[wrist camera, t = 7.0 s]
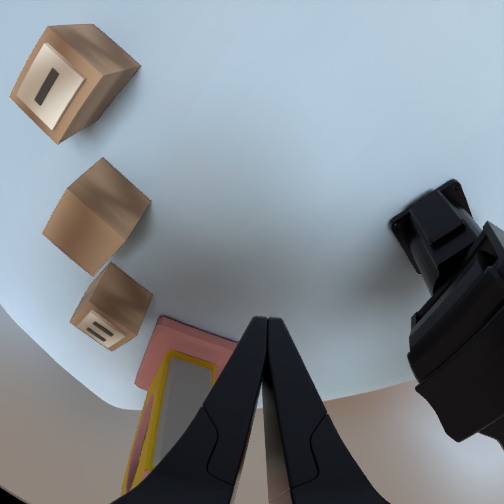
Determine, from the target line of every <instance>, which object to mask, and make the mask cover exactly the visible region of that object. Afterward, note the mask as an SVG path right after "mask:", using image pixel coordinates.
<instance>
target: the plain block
mask: <svg viewBox="0 0 504 504" xmlns="http://www.w3.org/2000/svg"><path fill="white" fill-rule="evenodd" d="M150 203H151V200H150V199H149V198H148V197H146V196H145V195H144V194H143V193H142V192H141V191H140V190H139V189H138V188H136V187H135V186H134V185H133V184H132V183H131V182H130V181H129V180H128V179H126V178H125V177H124V176H123V175H122V174H121V173H120V172H119V171H118V170H117V169H115V168H114V167H113V166H112V165H111V164H110V163H109V162H108V161H107V160H106V159H105V158H103V157H102V158H101V159H100V160H99V161H98V162H96V163H95V164H94V165H93V166H92V167H90V168H89V169H88V170H87V171H86V172H85V173H84V174H82V175H81V176H80V177H79V178H78V179H77V180H76V181H75V182H73V183H72V184H71V185H70V186H69V187H68V188H67V189H66V191H65V193H64V194H63V196H62V198H61V199H60V201H59V203H58V205H57V206H56V208H55V210H54V212H53V214H52V215H51V217H50V219H49V221H48V223H47V225H46V227H45V229H44V231H43V233H42V234H43V235H44V236H45V237H46V238H48V239H49V240H50V241H51V242H52V243H53V244H54V245H56V246H57V247H58V248H59V249H60V250H61V251H62V252H64V253H65V254H66V255H67V256H68V257H69V258H71V259H72V260H73V261H74V262H75V263H77V264H78V265H79V266H80V267H82V268H83V269H84V270H85V271H86V272H88V273H89V274H90V275H91V276H94V275H95V274H96V273H97V272H98V271H99V269H100V268H101V267H102V266H103V265H104V264H105V263H106V262H107V261H108V259H109V258H110V257H111V256H112V255H113V254H114V253H115V252H116V251H117V250H118V249H119V248H120V246H121V245H122V244H123V243H124V242H125V241H126V240H127V238H128V237H129V235H130V233H131V232H132V230H133V229H134V227H135V226H136V224H137V222H138V221H139V219H140V218H141V216H142V215H143V213H144V212H145V210H146V209H147V207H148V206H149V204H150Z"/></svg>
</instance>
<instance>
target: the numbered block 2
mask: <svg viewBox="0 0 504 504" xmlns="http://www.w3.org/2000/svg"><path fill="white" fill-rule="evenodd" d="M152 295H153V294H152V293H150V292H149V291H148V290H146V289H145V288H144V287H142V286H141V285H140V284H139V283H137V282H136V281H135V280H133V279H132V278H131V277H130V276H128V275H127V274H126V273H124V272H123V271H122V270H121V269H119V268H118V267H117V266H116V265H114V264H113V263H112V262H110V263H109V265H108V266H107V267H106V268H105V269H104V270H103V271H102V272H101V273H100V274H99V275H98V277H97V278H96V279H95V280H94V281H93V282H92V283H91V284H90V286H89V287H88V289H87V291H86V292H85V294H84V296H83V298H82V300H81V301H80V303H79V305H78V307H77V309H76V310H75V312H74V314H73V316H72V318H71V320H70V323H71V324H73V325H74V326H75V327H77V328H78V329H80V330H81V331H82V332H84V333H85V334H87V335H88V336H90V337H91V338H92V339H94V340H95V341H97V342H98V343H100V344H101V345H103V346H104V347H106V348H107V349H109V350H110V351H113V350H115V349H117V348H118V347H120V346H121V345H123V344H125V343H126V342H128V341H129V340H131V339H133V338H134V337H136V336H137V334H138V332H139V329H140V326H141V323H142V321H143V318H144V316H145V313H146V310H147V308H148V305H149V303H150V300H151V297H152Z"/></svg>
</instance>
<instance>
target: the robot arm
mask: <svg viewBox="0 0 504 504" xmlns="http://www.w3.org/2000/svg"><path fill="white" fill-rule="evenodd" d="M454 185H456V186H455V188H453V186H454ZM397 223H398V225H397V226H394V225H395V224H397ZM389 225H390V228H391V229H392V231H393V233H394V234H395V236H396V238H397V239H398V241H399V242H400V244H401V246H402V247H403V249H404V251H405V252H406V254H407V256H408V258H409V259H410V261H411V263H412V264H413V266H414V268H415V270H416V272H417V273H418V274H422V276H423V278H424V280H425V283H426V285H427V287H428V289H429V291H430V294H431V296H432V297H431V298H430V299H429V300H428V301H427V302H426V304H425V305H424V306H423V307H422V308H421V309H420V310H419V311H418V312H416V313H415V314H414V315H413V316H412V317H411V333H410V336H409V343H410V352H409V353H408V354H407V358H408V361H409V364H410V367H411V370H412V372H413V374H414V376H415V378H416V379H417V381H418V382H419V384H418V385H417V386H416V387H415V390H416V391H417V392H418V393H419V394H420V395H421V396H423V397H424V398H425V399H426V400H427V401H428V402H429V404H430V405H431V406H432V408H433V409H434V410H435V412H436V414H437V415H438V418H439V420H440V422H441V424H442V426H443V428H444V430H445V432H446V434H447V435H448V436H450V437H451V438H452V439H454V440H455V441H456V442H461V441H463V440H465V439H467V438H468V437H470V436H472V435H474V434H475V433H480V434H483V435H485V436H488V437H491V438H493V439H495V440H497V441H498V442H499V444H500V445H501V447H502V449H503V450H504V231H502V230H501V229H500V228H498V227H497V226H495V225H494V224H492V223H491V222H489V221H487V222H486V223H485V225H484V226H483V230H481V228H480V227H479V226H478V225H477V223H476V222H475V221H474V220H473V217H472V215H471V212H470V209H469V206H468V203H467V200H466V198H465V195H464V192H463V190H462V187H461V185H460V183H459V182H458V181H457V180H455V179H453V180H451V181H449V182H448V183H446V184H445V185H443V186H442V187H440V188H439V189H437V190H436V191H434V192H432V193H431V194H429V195H428V196H426V197H425V198H423V199H422V200H420V201H419V202H417V203H416V204H414V205H413V206H411V207H410V208H409V209H407V210H405V211H404V212H402V213H401V214H399V215H398V216H396V217H395V218H393V219H392V220H391V221H390V224H389ZM261 383H262V398H263V413H264V431H265V447H266V463H267V479H268V480H267V481H268V498H269V504H390V503H389V502H388V501H386V500H385V499H384V498H383V497H382V496H381V495H379V494H378V492H377V491H376V490H375V489H374V488H373V486H372V485H371V483H370V482H369V481H368V479H367V478H366V476H365V475H364V473H363V472H362V470H361V469H360V467H359V466H358V465H357V463H356V461H355V460H354V459H353V457H352V456H351V454H350V452H349V451H348V449H347V448H346V446H345V444H344V443H343V441H342V440H341V438H340V436H339V434H338V432H337V430H336V428H335V426H334V425H333V423H332V420H331V418H330V416H329V414H326V413H327V410H326V409H325V406H324V404H323V402H322V400H321V398H320V396H319V394H318V392H317V390H316V388H315V385H314V383H313V381H312V379H311V377H310V375H309V373H308V371H307V369H306V367H305V365H304V363H303V361H302V359H301V356H300V354H299V352H298V350H297V348H296V346H295V344H294V342H293V340H292V338H291V336H290V334H289V332H288V330H287V327H286V325H285V323H284V321H283V320H282V318H277V317H269V318H268V319H267V317H263V316H254V317H253V318H252V320H251V321H250V323H249V325H248V327H247V329H246V330H245V332H244V334H243V336H242V337H241V339H240V341H239V343H238V344H237V346H236V348H235V349H234V351H233V353H232V355H231V356H230V358H229V360H228V362H227V363H226V365H225V367H224V368H223V370H222V372H221V373H220V375H219V377H218V379H217V380H216V382H215V384H214V385H213V387H212V389H211V390H210V392H209V394H208V395H207V397H206V399H205V400H204V402H203V404H202V406H201V407H200V408H199V410H198V412H197V413H196V415H195V417H194V418H193V420H192V421H191V423H190V424H189V426H188V427H187V429H186V430H185V432H184V433H183V434H182V435H181V437H180V438H179V439H178V441H177V442H176V443H175V444H174V446H173V447H172V448H171V449H170V450H169V451H168V453H167V454H166V455H165V456H164V457H163V458H162V460H161V461H160V462H159V463H158V464H157V465H156V466H155V468H154V469H153V470H152V471H151V472H150V473H149V474H148V475H147V476H146V477H145V478H144V479H143V480H142V481H141V482H140V483H139V484H138V485H137V486H135V487H134V488H133V489H132V490H130V491H129V492H127V493H126V494H124V495H122V496H121V497H119V498H118V499H116V500H115V501H113V502H112V503H110V504H234V500H235V496H236V493H237V489H238V485H239V481H240V476H241V472H242V468H243V464H244V460H245V455H246V451H247V447H248V443H249V439H250V434H251V430H252V425H253V421H254V417H255V412H256V408H257V403H258V398H259V394H260V389H261ZM0 504H30V503H28V502H27V501H25V500H23V499H22V498H20V497H18V496H16V495H15V494H13V493H12V492H10V491H9V490H7V489H5V488H4V487H2V486H1V485H0Z"/></svg>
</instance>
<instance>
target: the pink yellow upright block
mask: <svg viewBox="0 0 504 504" xmlns="http://www.w3.org/2000/svg"><path fill="white" fill-rule="evenodd" d="M237 344H238V343H236V342H233V341H230V340H227V339H224V338H221V337H218V336H215V335H213V334H210V333H207V332H204V331H201V330H199V329H196V328H193V327H191V326H188V325H185V324H183V323H180V322H177V321H175V320H172V319H170V318H167V317H164V316H162V317H160V318H158V321H157V323H156V326H155V329H154V331H153V334H152V336H151V339H150V342H149V344H148V347H147V349H146V352H145V355H144V357H143V360H142V363H141V366H140V368H139V371H138V374H137V377H136V380H135V385H136V386H138V387H139V388H141V389H144V390H147V391H148V393H147V396H146V399H145V403H144V406H143V410H142V413H141V417H140V420H139V424H138V427H137V431H136V434H135V438H134V442H133V445H132V449H131V453H130V457H129V460H128V464H127V469H126V472H125V476H124V480H123V485H122V494H121V496H122V495H124V494H126V493H127V492H129V491H130V490H132V489H133V488H134V487H135V486H137V485H138V484H139V483H140V482H141V481H142V480H143V479H144V478H145V477H146V476H147V475H148V474H149V473H150V472H151V471H152V470H153V469H154V468H155V466H156V465H157V464H158V463H159V462H160V461H161V460H162V458H163V457H164V456H165V455H166V454H167V453H168V451H169V450H170V449H171V448H172V447H173V446H174V444H175V443H176V442H177V441H178V439H179V438H180V437H181V435H182V434H183V433H184V432H185V430H186V429H187V427H188V426H189V424H190V423H191V421H192V420H193V418H194V417H195V415H196V413H197V412H198V410H199V408H200V407H201V406H202V404H203V402H204V400H205V399H206V397H207V395H208V394H209V392H210V390H211V389H212V387H213V385H214V384H215V382H216V380H217V379H218V377H219V375H220V373H221V372H222V370H223V368H224V367H225V365H226V363H227V362H228V360H229V358H230V356H231V355H232V353H233V351H234V349H235V348H236V346H237Z"/></svg>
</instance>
